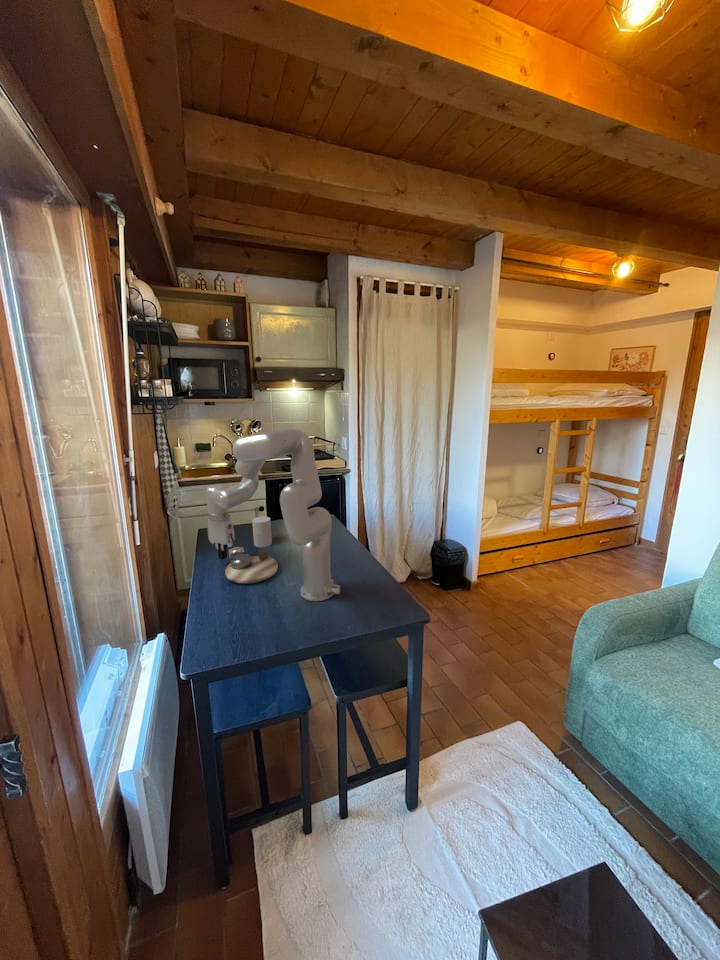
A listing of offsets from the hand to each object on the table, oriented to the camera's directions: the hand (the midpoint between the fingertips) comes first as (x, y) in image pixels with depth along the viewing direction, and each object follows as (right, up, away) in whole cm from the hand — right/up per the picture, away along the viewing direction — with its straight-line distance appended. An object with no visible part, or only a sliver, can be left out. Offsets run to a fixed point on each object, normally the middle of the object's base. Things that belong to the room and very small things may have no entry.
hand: (223, 557), depth 155 cm
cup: (+11, +2, +23) cm, 25 cm away
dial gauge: (+3, -2, +9) cm, 10 cm away
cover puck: (+9, -2, -3) cm, 9 cm away
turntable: (+13, -4, -4) cm, 14 cm away
